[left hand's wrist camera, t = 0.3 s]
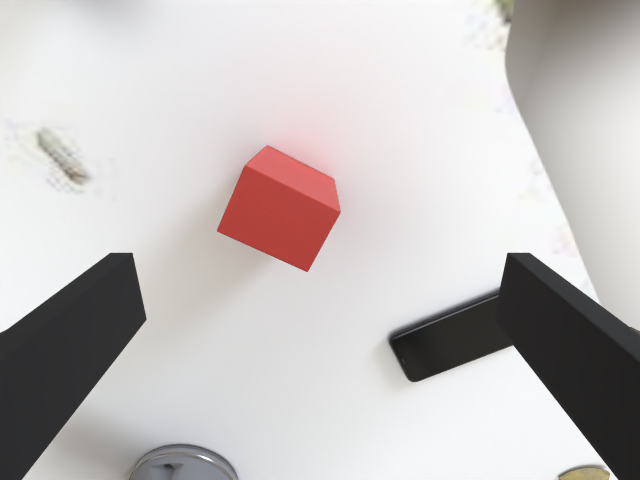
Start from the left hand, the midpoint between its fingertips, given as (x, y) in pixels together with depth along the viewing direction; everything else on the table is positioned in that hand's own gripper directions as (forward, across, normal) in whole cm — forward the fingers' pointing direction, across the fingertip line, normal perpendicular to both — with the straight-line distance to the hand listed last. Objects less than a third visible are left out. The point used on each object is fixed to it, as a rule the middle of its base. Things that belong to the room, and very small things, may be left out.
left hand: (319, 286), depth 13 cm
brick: (+25, +3, +2) cm, 25 cm away
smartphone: (+25, -17, +20) cm, 36 cm away
